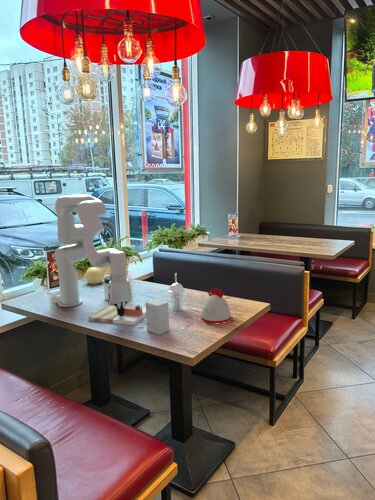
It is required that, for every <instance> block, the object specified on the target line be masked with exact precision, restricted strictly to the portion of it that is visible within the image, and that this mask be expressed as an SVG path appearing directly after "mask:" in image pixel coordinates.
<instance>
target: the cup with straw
mask: <svg viewBox="0 0 375 500" xmlns="http://www.w3.org/2000/svg"><path fill="white" fill-rule="evenodd" d="M178 275H179V274H178V273H177V272H175V273H174V281H175V282H174V283H171V285H169V288H168V290H167V292H168V293H169V297H170V302H171V307H172V311H174V312H181V311H182V310H183V298H184V297H183V296H184V293H185V292H186V290H185V288H184V287H183V285H182V284H181V283H180V282H179V283H178V282H177V276H178Z"/></svg>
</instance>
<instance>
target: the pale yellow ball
mask: <svg viewBox="0 0 375 500" xmlns="http://www.w3.org/2000/svg"><path fill="white" fill-rule="evenodd" d="M105 276H106V275H105V268H103V267H94V266H92V267H91V266H90V267H89V268H87V271H86V272H85V280H86V282H87V283H88V284H89V285H96V284H100V283H103V282H104V277H105Z"/></svg>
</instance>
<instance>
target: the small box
mask: <svg viewBox="0 0 375 500" xmlns="http://www.w3.org/2000/svg"><path fill="white" fill-rule="evenodd" d="M145 308H146V316H145V317H146V320H145V321H146V331H147V332H151V333H153V334H155V335H159V336H160V335H162V334H165V333H166V332H167V333H168V332H169V331H170V317H169V316H170V315H169V302H168V301H164V300H160V299H157V298H155V299H151V300H149V301H146V302H145Z"/></svg>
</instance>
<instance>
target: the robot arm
mask: <svg viewBox="0 0 375 500" xmlns="http://www.w3.org/2000/svg"><path fill="white" fill-rule="evenodd" d="M54 204H55V206H54V207H55V208H54V209H55V213H56V217H57V240H58V242H59V243H60V244H62V245H61V246H59V247H58V248H56V249H55V251H54V259H55V263H56V267H57V274H58V275H57V276H58V283H59V294H56V296H55V297H54V299H55V300H58V302H57V305H58V306H59V307H61V308H62V307H63V308H70V307H77V306H80V305H81V304H82V303H83V299H82V298H80V291H79V281H78V271H77V268H76V267H75V266H74V265H73V263H79V262H81V261H84V260H86V259H88V261H89V264H90V265H91V266H92V267H99V268H102V267H105V266H109V275H108V276H109V277H107V276H106V277H107V279H108V280H111V281H109V287H108V299H109V300H108V305H110V306H116V307H117V314H118V315H119V316H120V317H121V316H124V307H125V306H127V304H128V303H130V302H132V299H133V296H132V295H133V293H132V287H131V282H130V280H129V279H128V275H127V272H128V271H127V258H126V257H127V255H126V252H125V251H124V250H118V249H116V248H113V247H112V248H105V249H98V250H96V247H95V244H94V238H96V237H97V236H98V235H99V234H101V233H102V232H103V230H104V225H103V223H102V221H101V219H100V218H101V217H104V216H105V215H106V212H107V209H106V208H107V207H106V206H105V203H104V202H103V201H102V200H101V199H99V198H97V197H94V196H92V195H90V194H70V195H61V196H59V197H57V198H56V200H55V203H54ZM73 213H77V215H78V218H79V220H80V222H81V224H80V223H78V224H75V223H76V218H75V215H74V214H73Z"/></svg>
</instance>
